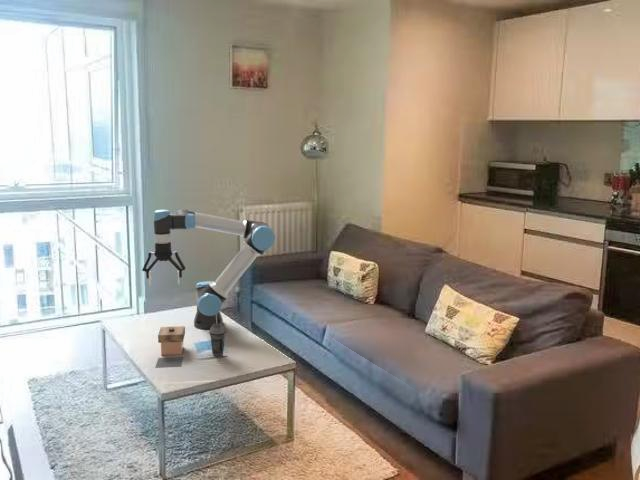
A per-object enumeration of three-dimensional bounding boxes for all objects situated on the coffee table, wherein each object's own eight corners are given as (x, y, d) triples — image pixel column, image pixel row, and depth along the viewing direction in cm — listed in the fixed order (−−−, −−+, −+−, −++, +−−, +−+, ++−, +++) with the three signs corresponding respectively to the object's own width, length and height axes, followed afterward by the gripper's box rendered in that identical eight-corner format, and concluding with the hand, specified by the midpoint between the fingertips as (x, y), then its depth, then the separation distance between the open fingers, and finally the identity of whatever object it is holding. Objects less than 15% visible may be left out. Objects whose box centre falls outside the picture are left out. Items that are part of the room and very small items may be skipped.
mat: (183, 358, 267) (183, 356, 266) (181, 367, 256) (181, 366, 256) (158, 359, 265) (158, 357, 265) (155, 369, 254) (155, 367, 254)
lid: (185, 333, 278) (184, 324, 277) (183, 341, 267) (182, 332, 266) (161, 334, 276) (160, 325, 275) (158, 342, 266) (157, 333, 265)
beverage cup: (212, 360, 264) (211, 317, 261) (207, 354, 271) (206, 313, 267) (228, 357, 268) (227, 315, 264) (223, 351, 274) (222, 310, 270)
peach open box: (183, 348, 278) (182, 334, 277) (181, 355, 269) (181, 341, 268) (163, 349, 277) (163, 334, 275) (161, 356, 268) (160, 341, 267)
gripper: (189, 239, 290) (191, 281, 294) (137, 240, 286) (139, 283, 290) (188, 242, 282) (190, 285, 287) (134, 244, 279) (137, 287, 283)
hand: (164, 284), depth 288 cm, fingers open, 13 cm apart
